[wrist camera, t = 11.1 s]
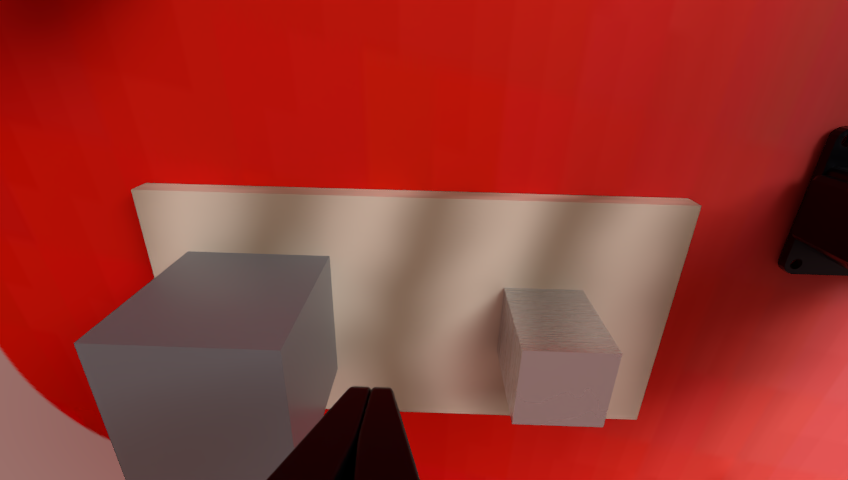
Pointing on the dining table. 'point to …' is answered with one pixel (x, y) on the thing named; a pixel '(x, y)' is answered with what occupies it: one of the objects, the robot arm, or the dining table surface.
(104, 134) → the dining table surface
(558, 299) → the grey cube
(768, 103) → the dining table surface
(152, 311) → the gray matte cube
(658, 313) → the board
